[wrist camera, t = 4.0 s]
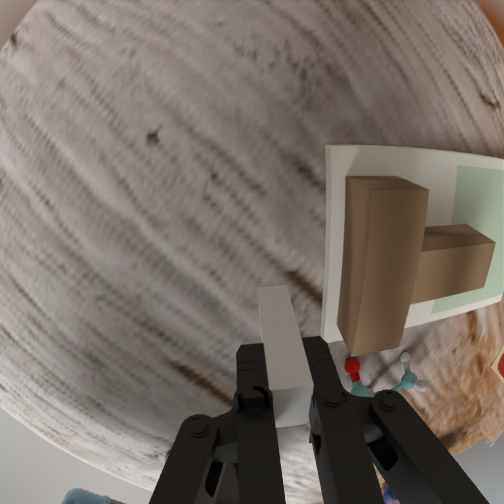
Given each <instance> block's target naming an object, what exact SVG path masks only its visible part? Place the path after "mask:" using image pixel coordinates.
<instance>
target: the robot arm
mask: <svg viewBox="0 0 504 504" xmlns="http://www.w3.org/2000/svg"><path fill="white" fill-rule="evenodd" d="M257 292H258V305H259V319H260V331H261V339H262V343H257V344H245V345H241V346H240V347H239V349H238V351H237V353H236V363H237V391H236V392H235V394H234V398H233V399H234V404H235V406H234V407H233V408H232V410H230V411H229V412H227V413H225V414H223V415H220V416H217V417H214V418H211V417H209V416H207V415H202V414H197V415H193V416H190V417H189V418H187V419H186V420H184V422H183V423H182V425H181V427H180V429H179V432H178V434H177V437H176V439H175V441H174V444H173V446H172V449H171V451H170V452H169V453H168V454H167V455H166V459H165V466H164V468H163V470H162V473H161V475H160V478H159V480H158V482H157V485H156V487H155V490H154V492H153V495H152V497H151V500H150V502H149V504H286V501H285V494H284V486H283V478H282V471H281V463H280V455H279V448H278V440H277V432H276V428H280V427H288V426H296V425H303V424H308V423H309V420H310V424H311V432H310V437H309V443H312V445H313V450H314V455H315V460H316V465H317V470H318V475H319V480H320V485H321V490H322V496H323V501H324V504H385V502H384V498H383V495H382V491H381V488H380V485H379V481H378V478H377V475H376V472H375V468H374V465H375V466H376V468H377V469H378V471H379V472H380V474H381V475H382V477H383V478H384V480H385V482H386V483H387V485H388V486H389V488H390V489H391V491H392V492H393V494H394V495H395V497H396V498H397V500H398V501H399V503H400V504H489V503H488V501H487V500H486V499H485V497H484V496H483V495H482V494H481V492H480V491H479V490H478V488H477V487H476V486H475V484H474V483H473V482H472V481H471V480H470V478H469V477H468V476H467V474H466V473H465V472H464V470H463V469H462V468H461V467H460V465H459V464H458V463H457V462H456V461H455V459H454V458H453V457H452V455H451V454H450V453H449V452H448V451H447V449H446V448H445V447H444V446H443V444H442V443H441V442H440V441H439V439H438V438H437V437H436V436H435V434H434V433H433V432H432V431H431V430H430V428H429V427H428V426H427V425H426V424H425V422H424V421H423V420H422V419H421V417H420V416H419V415H418V414H417V413H416V411H415V410H414V409H413V408H412V407H411V405H410V404H409V403H408V402H407V401H406V399H405V398H404V397H403V396H402V395H401V394H400V393H399V392H397V391H394V390H387V389H385V390H382V391H379V392H378V393H377V394H375V396H374V397H363V396H355V395H353V394H350V393H349V392H348V391H346V390H345V389H344V388H343V386H342V384H341V381H340V378H339V375H338V372H337V370H336V367H335V364H334V361H333V359H332V355H331V353H330V350H329V347H328V344H327V342H326V341H325V340H324V339H323V338H322V337H320V336H314V337H306V338H301V335H300V332H299V328H298V325H297V321H296V317H295V314H294V310H293V307H292V303H291V299H290V296H289V292H288V289H287V285H280V286H270V287H259V288H257ZM373 463H374V465H373ZM62 504H125V503H122V502H119V501H116V500H113V499H110V497H108V496H101V495H98V494H95V493H93V492H90V491H87V490H84V489H81V488H74V489H72V490H70V491H68V493H67V494H66V496H65V498H64V500H63V502H62Z"/></svg>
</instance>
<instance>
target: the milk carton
mask: <svg viewBox="0 0 504 504" xmlns="http://www.w3.org/2000/svg"><path fill="white" fill-rule="evenodd" d="M491 368H492V369H493V370H494V372H495V373H496V374H497V376H498V377H499V378H500V379H501V381H502V382H503V383H504V346H503V348H502V349H501V351H500V353H499V354H498V356H497V358H496V360H495V361H494V363H493V364H492V366H491Z"/></svg>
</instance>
